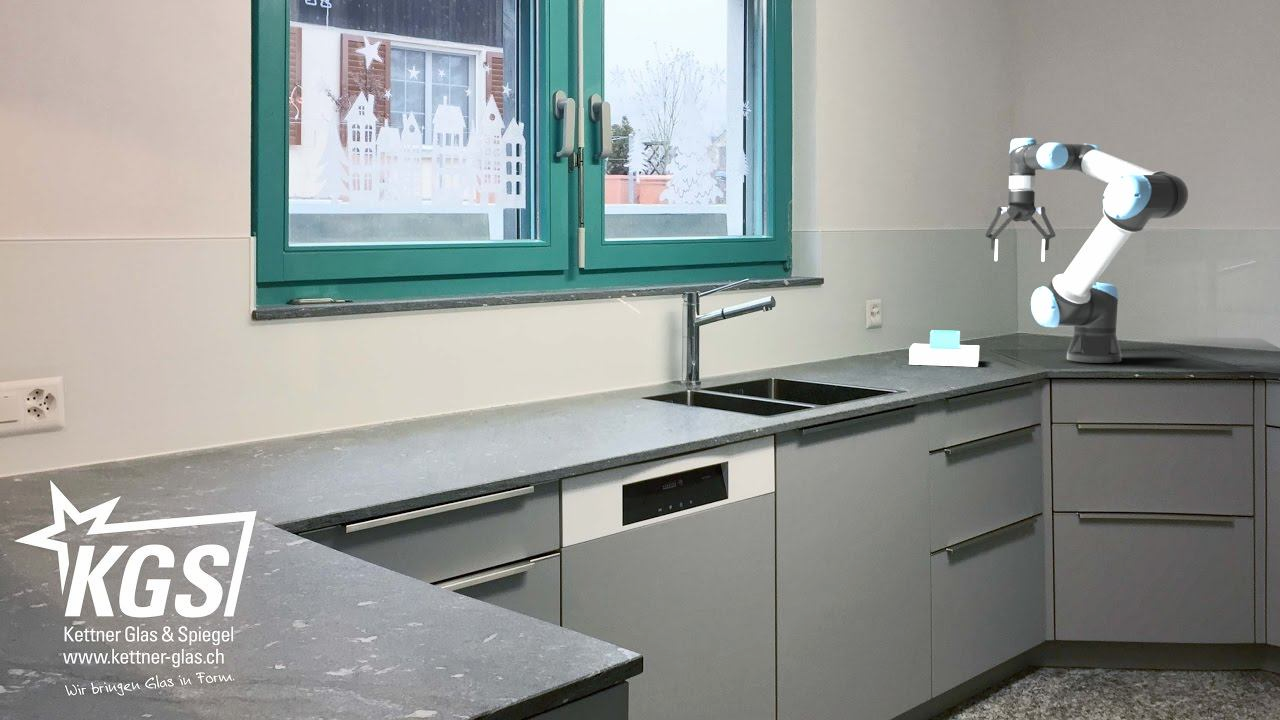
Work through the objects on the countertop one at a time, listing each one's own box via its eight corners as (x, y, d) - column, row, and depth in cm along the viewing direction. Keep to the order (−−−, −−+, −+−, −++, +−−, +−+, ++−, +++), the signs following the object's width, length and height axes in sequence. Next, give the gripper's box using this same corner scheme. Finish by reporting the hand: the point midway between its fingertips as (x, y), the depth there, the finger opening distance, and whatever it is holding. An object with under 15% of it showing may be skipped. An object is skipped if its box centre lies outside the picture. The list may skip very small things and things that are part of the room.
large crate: (978, 360, 356) (979, 345, 355) (977, 366, 343) (977, 350, 342) (912, 358, 361) (913, 343, 361) (909, 364, 348) (909, 348, 348)
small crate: (959, 358, 355) (960, 330, 354) (958, 361, 347) (958, 333, 346) (931, 357, 357) (932, 330, 356) (929, 360, 349) (930, 332, 348)
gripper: (1065, 190, 364) (1062, 260, 366) (979, 191, 371) (976, 260, 374) (1066, 189, 357) (1063, 261, 359) (978, 190, 364) (976, 261, 367)
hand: (1019, 261), depth 366 cm, fingers open, 13 cm apart
